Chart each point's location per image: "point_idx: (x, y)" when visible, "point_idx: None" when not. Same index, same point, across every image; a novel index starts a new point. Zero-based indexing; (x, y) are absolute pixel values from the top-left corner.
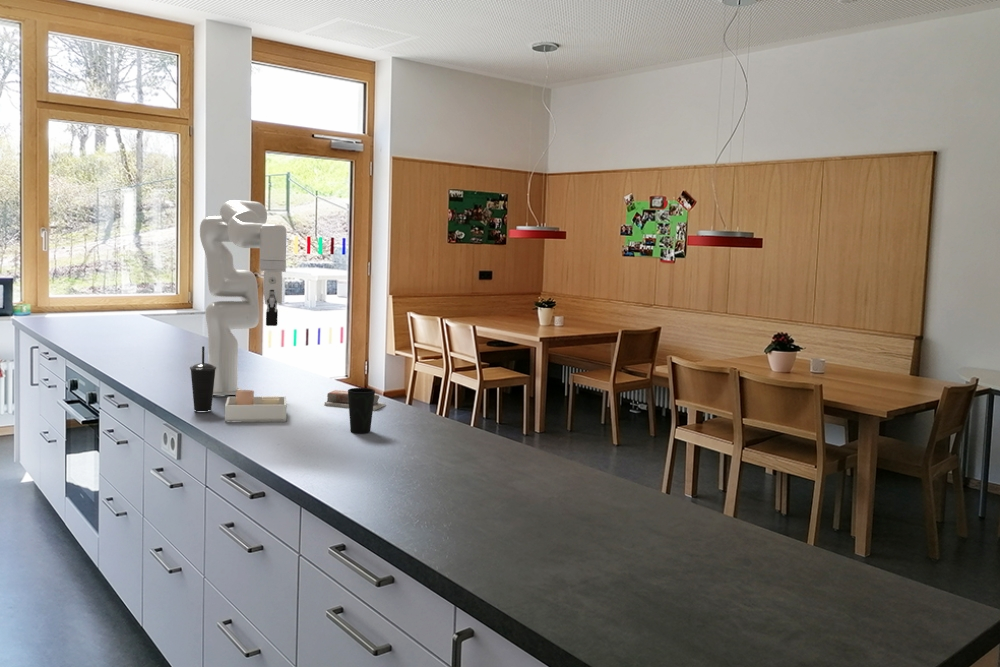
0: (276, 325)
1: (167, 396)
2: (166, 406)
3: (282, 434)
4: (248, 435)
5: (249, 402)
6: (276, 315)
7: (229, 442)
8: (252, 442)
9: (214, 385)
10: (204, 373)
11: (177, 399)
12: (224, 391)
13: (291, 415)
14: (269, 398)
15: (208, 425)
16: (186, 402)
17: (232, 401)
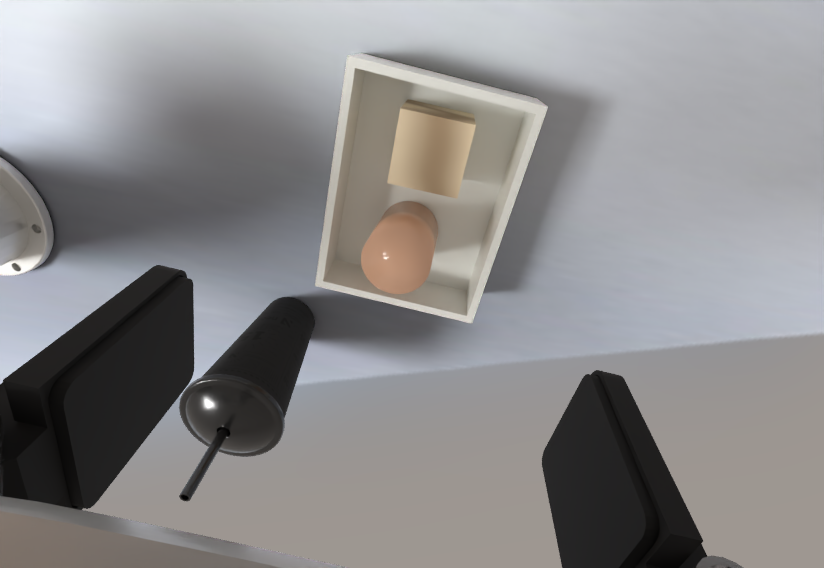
0: (614, 379)
1: None
2: None
3: (731, 165)
4: (679, 269)
5: (433, 236)
6: (670, 497)
7: (732, 331)
8: (776, 278)
9: (3, 259)
10: (284, 410)
11: None
12: (21, 219)
13: (425, 43)
14: (435, 161)
15: (492, 338)
16: None
17: (328, 265)
